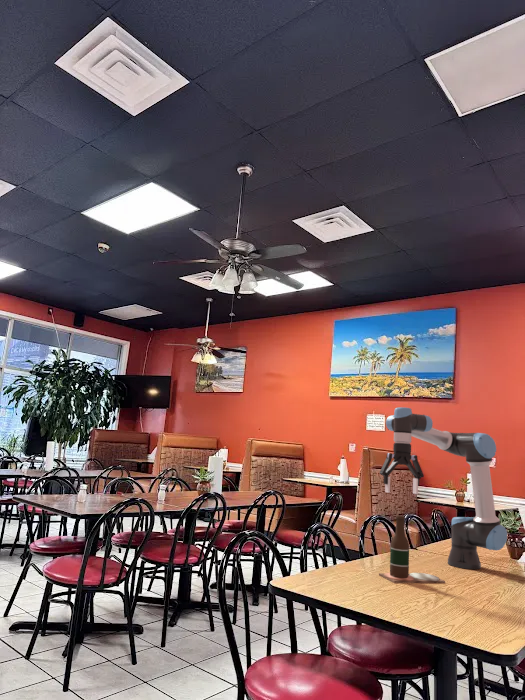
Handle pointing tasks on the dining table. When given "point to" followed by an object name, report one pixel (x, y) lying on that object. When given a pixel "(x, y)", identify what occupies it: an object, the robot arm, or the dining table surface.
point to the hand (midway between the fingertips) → (401, 493)
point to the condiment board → (413, 578)
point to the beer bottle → (399, 551)
